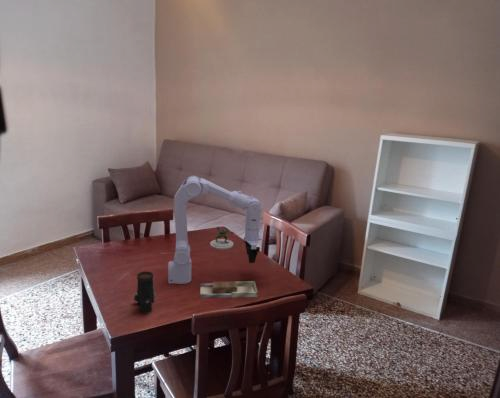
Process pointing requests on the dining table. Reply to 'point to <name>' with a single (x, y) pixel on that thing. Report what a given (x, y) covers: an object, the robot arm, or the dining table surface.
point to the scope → (145, 291)
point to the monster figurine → (222, 240)
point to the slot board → (242, 291)
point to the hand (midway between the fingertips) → (250, 258)
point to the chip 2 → (230, 287)
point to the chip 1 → (218, 287)
